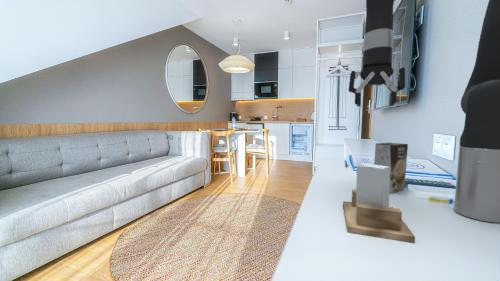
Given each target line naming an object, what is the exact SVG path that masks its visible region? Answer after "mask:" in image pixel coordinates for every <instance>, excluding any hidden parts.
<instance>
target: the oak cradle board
mask: <svg viewBox="0 0 500 281" xmlns="http://www.w3.org/2000/svg"><path fill="white" fill-rule="evenodd" d="M342 208H343V213H344V214H343V215H344V218H345V225H346V226H345V227H346V230H347V231H346V232H347V233H349V234H350V233H352V234H357V235H363V236H370V237H377V238H383V239H390V240H395V241H400V242H401V241H403V242H406V243H407V242H408V243H414V244H415V242H416V236H415V234H414V233H413V232H412V230H411V229H410V228H409V227H408V225H407V224H406V222H405V221H404V220H403V219H402V218H403V217H402V215H403V211H401V210H400V208H394V207H393V206H389V208H388V207H380V206H371V205H363V204H357V213H356V189H352V190H351V201H344V200H343V201H342Z"/></svg>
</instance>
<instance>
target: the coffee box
mask: <svg viewBox="0 0 500 281" xmlns="http://www.w3.org/2000/svg"><path fill="white" fill-rule="evenodd" d="M374 148H375V149H374V163H373V164H374V165H381V166H388V167H390V190H389V194H393V193H397V192H400V190H401V191H403V190H402V189H404V190H405V189H406V188H405V187H406V175H407V174H406V173H407V162H408V161H407V159H408V148H409V144H408V143H398V142H396V143H395V142H379V143H377V142H376V143H375V147H374ZM404 185H405V187H404Z"/></svg>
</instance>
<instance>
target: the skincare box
mask: <svg viewBox="0 0 500 281" xmlns="http://www.w3.org/2000/svg"><path fill="white" fill-rule="evenodd" d="M355 184H356V189H355V190H356V213H357V204H363V205H371V206H380V207H388V208H389V207H390V193H389V190H390V167H388V166H381V165H374V163H373V164H372V163H366V162H363V163H360V164H357V165H356V183H355Z"/></svg>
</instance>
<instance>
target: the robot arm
mask: <svg viewBox="0 0 500 281" xmlns="http://www.w3.org/2000/svg"><path fill="white" fill-rule="evenodd" d="M365 1H366V2H365V4H366V5H365V6H366V8H365V9H366V11H365V12H366V16H365V23H364V24H365V26H364V38H363V44H362V45H363V46H362V61H361V62H362V63H361V64H362V65H361V70H360V71H355V70H352V71H351V72H350V75H349V82H348V92H349V93H353V94H354V105H355V106H356V107H361V100H362V99H361V98H362V97H361V96H362V93H361V92H362V90H363V89H364V88H365V87H366V85H367V86H383V85H384V87H385V88H387V90H388V91H389V96H388V107H393V106H394V105H395V104H396V103H397V95H398V92H399V91H402V90H405V88H406V68H405V67H403V66H402V67H401V68H395V69H394V68H393V66H392V65H393V53H394V51H393V48H394V32H393V31H394V30H393V29H394V5H395V4H394V3H395V1H396V0H365ZM487 3H488V4H487V7H486V9H485V14H484V17H483V21H482V26H481V32H480V36H479V41H478V45H477V50H476V58H475V62H474V66H473V69H472V72H471V74H470V78H469V80H468V82H467V85H466V87H465V89H464V92H463V94H462V97H461V99H460V108H461V110H462V112H463V113H464V114H465V117H464V127H463V130H462V133H461V135H460V138H459V150H458V159H457V161H458V162H457V171H456V181H455V182H456V183H455V192H454V193H455V194H454V202H453V210H454V212H456V213H457V214H459V215H461V216H464V217H467V218H471V219H474V220H477V221H482V222H489V223H494V224H495V223H496V224H497V223H500V0H488V2H487ZM392 75H394V76H395V77H396V78H397V86H396V85H395V84H394V82H393V81H392V80H391V78H390V77H392ZM359 76H360V78H361V80H362V82H361V83H360V85H359V86H358V87H357V88H355V81H356V80H357V79H358V77H359Z"/></svg>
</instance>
